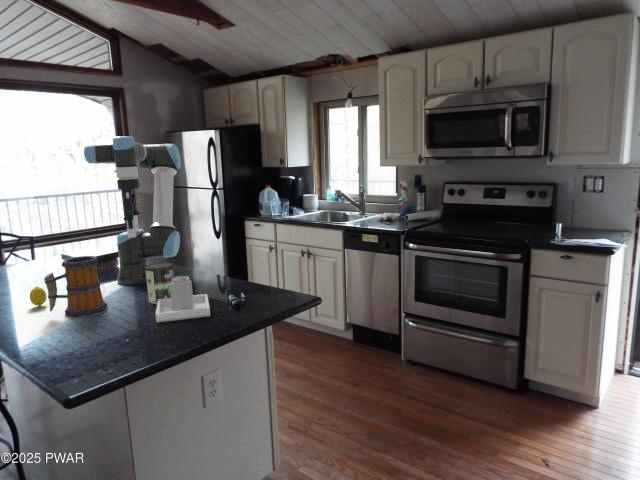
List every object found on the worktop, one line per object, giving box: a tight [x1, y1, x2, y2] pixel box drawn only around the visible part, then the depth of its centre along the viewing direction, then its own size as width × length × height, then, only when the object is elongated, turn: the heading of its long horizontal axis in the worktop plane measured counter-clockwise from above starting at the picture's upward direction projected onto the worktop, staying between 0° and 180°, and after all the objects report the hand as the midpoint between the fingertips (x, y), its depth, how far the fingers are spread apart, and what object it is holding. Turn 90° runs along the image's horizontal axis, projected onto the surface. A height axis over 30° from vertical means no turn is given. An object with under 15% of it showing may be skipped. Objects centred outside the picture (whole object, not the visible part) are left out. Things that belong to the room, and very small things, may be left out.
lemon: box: [29, 286, 47, 307], centre depth 186 cm, size 6×6×8 cm
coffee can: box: [145, 262, 175, 305], centre depth 188 cm, size 10×10×14 cm
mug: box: [44, 255, 109, 319], centre depth 175 cm, size 19×14×20 cm
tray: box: [155, 293, 211, 324], centre depth 174 cm, size 18×18×3 cm
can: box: [170, 275, 194, 311], centre depth 174 cm, size 8×8×12 cm
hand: (133, 234), depth 184 cm, fingers open, 13 cm apart
